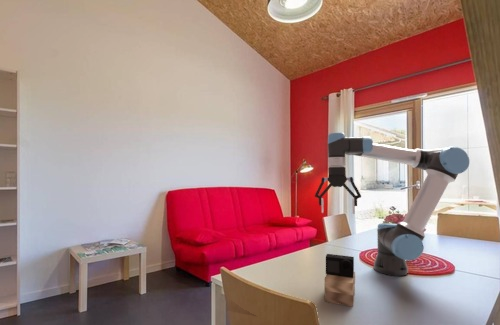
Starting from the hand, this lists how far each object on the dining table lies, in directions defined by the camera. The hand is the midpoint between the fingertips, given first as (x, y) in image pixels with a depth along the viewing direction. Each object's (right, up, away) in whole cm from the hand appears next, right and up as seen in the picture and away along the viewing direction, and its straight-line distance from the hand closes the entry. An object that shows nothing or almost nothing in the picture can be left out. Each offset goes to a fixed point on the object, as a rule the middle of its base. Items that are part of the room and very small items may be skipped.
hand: (337, 213), depth 131 cm
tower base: (-5, -30, -19) cm, 36 cm away
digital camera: (-5, -21, -19) cm, 29 cm away
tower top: (-5, -25, -19) cm, 32 cm away
